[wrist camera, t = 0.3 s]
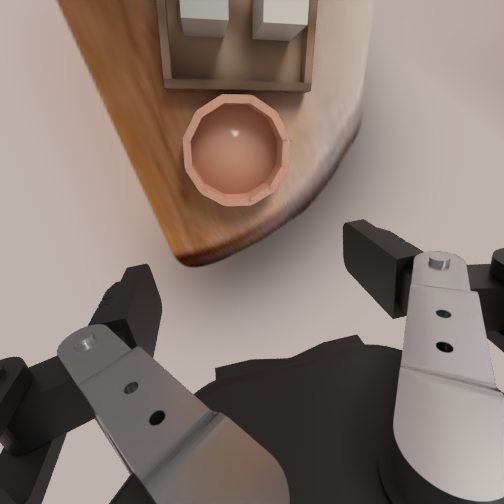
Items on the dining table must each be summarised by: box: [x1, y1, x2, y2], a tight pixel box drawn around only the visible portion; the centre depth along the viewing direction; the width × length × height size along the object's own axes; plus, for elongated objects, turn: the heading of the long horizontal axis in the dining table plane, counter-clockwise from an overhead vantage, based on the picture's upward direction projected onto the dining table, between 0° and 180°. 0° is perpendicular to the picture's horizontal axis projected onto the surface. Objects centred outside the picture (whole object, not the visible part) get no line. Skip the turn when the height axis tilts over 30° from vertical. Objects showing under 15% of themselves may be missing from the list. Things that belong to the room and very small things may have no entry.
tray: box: [156, 0, 318, 93], centre depth 30 cm, size 14×16×2 cm
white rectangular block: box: [252, 0, 309, 41], centre depth 28 cm, size 4×4×6 cm
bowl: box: [183, 94, 290, 206], centre depth 34 cm, size 12×12×4 cm
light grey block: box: [180, 0, 229, 38], centre depth 27 cm, size 4×4×6 cm
